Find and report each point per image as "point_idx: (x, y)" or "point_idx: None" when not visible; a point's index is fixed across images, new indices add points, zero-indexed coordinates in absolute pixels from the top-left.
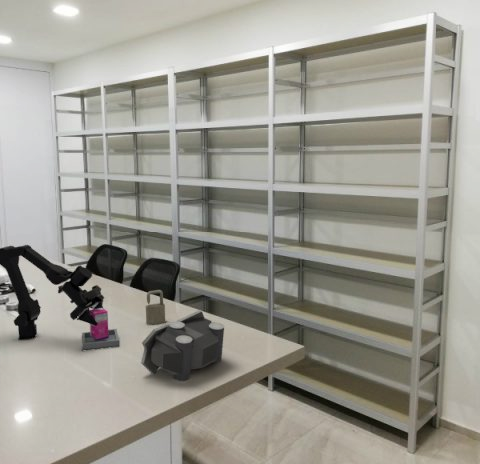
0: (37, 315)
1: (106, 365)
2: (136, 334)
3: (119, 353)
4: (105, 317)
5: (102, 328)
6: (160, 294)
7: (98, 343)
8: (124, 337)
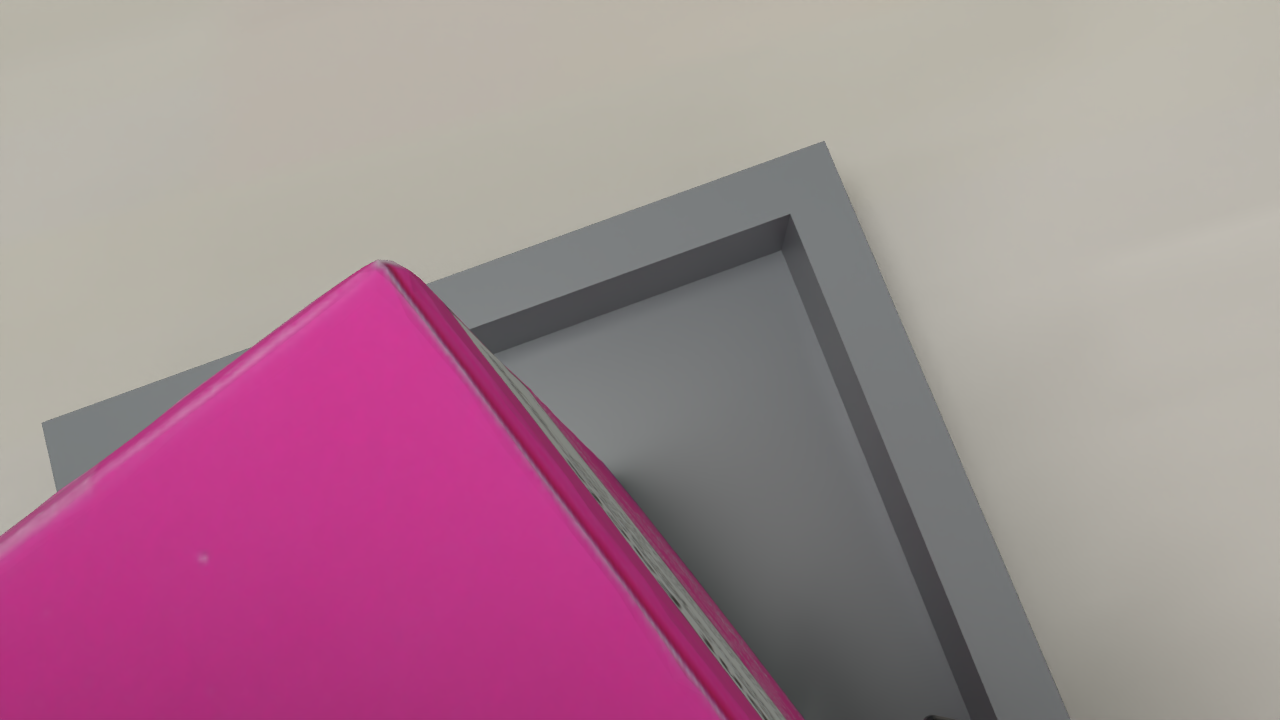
0: None
1: None
2: (154, 49)
3: (1173, 94)
4: (561, 436)
5: (690, 580)
6: None
7: (1013, 595)
8: (305, 236)
